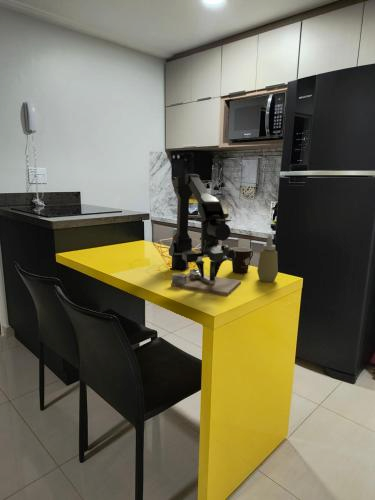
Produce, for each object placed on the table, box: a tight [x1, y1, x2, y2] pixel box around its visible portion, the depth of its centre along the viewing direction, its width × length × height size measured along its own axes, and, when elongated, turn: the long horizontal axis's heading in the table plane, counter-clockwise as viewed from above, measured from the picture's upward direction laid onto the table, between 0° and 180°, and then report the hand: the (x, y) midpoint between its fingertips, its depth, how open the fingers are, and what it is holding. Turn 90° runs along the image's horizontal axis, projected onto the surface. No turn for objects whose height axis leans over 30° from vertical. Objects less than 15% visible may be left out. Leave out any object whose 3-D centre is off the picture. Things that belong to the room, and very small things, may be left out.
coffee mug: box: [230, 246, 254, 275], centre depth 146 cm, size 12×9×10 cm
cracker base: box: [170, 272, 242, 297], centre depth 127 cm, size 22×16×4 cm
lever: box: [189, 260, 216, 284], centre depth 129 cm, size 15×5×8 cm, turn 30°
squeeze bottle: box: [256, 235, 279, 283], centre depth 133 cm, size 8×8×18 cm
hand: (208, 277), depth 124 cm, fingers open, 4 cm apart
